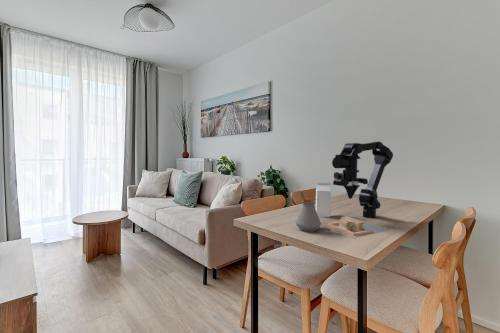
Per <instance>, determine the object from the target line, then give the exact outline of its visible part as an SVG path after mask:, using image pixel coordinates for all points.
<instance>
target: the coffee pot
mask: <svg viewBox="0 0 500 333" xmlns="http://www.w3.org/2000/svg"><path fill="white" fill-rule="evenodd" d="M299 195H300V197H301V199H302V200H301V201H300V202H301V203H302V206H301V209H300V211H299V214H298V215H297V218H296V220H295V225H296V226H297V227H298V229H299V230H301V231H304V232H316V231H317V230H318V229H319V228H320V227H321V225H322V222H321V220H320V218H319V217H318V215H317V212H316V200H311V199H309V200H308V199H305V196H304V194H303V192H302V191H300V192H299Z"/></svg>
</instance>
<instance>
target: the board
mask: <svg viewBox="0 0 500 333" xmlns="http://www.w3.org/2000/svg"><path fill="white" fill-rule="evenodd" d="M325 226H327V227H325V228H327V229H328V227H329V228H330V230H331V231H333V230H337V231H338V233H339V234H341V232H342V233H343V235H344V236H346V235H348V237H350V238H352V239H354V237H355V238H357V237H358V238H359V237H363V236H368V235H373V234H378V233H383V232H387V231H389V229H388V228H384V227H381V226H378V225H374V224H372V223H369V222H365V231H360V232H356V231H353V230H351V231H348V230H346V229H343V228H340V227H339V221H334V222H328V223H327V224H325ZM331 228H332V229H331ZM339 231H340V232H339ZM344 233H345V234H344ZM349 235H351V236H349ZM352 236H353V237H352Z"/></svg>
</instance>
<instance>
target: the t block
mask: <svg viewBox="0 0 500 333" xmlns="http://www.w3.org/2000/svg"><path fill="white" fill-rule="evenodd" d="M338 222H339V227H340V228H343V229H346V230H348V231H351V230H353V231H356V232H360V231H365V223H366V221H362V220H359V219H357V218H353V217H349V216H342V217H340V219H339V220H338Z"/></svg>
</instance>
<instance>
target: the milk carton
mask: <svg viewBox="0 0 500 333" xmlns="http://www.w3.org/2000/svg"><path fill="white" fill-rule="evenodd" d="M331 195H332V189H331V182H321V181H319V182H318V181H317V182H316V185H315V201H316V203H315V210H316V212H317V215H318V217H319V219H322V218H330V217H331V201H332V200H331V197H332V196H331Z"/></svg>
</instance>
